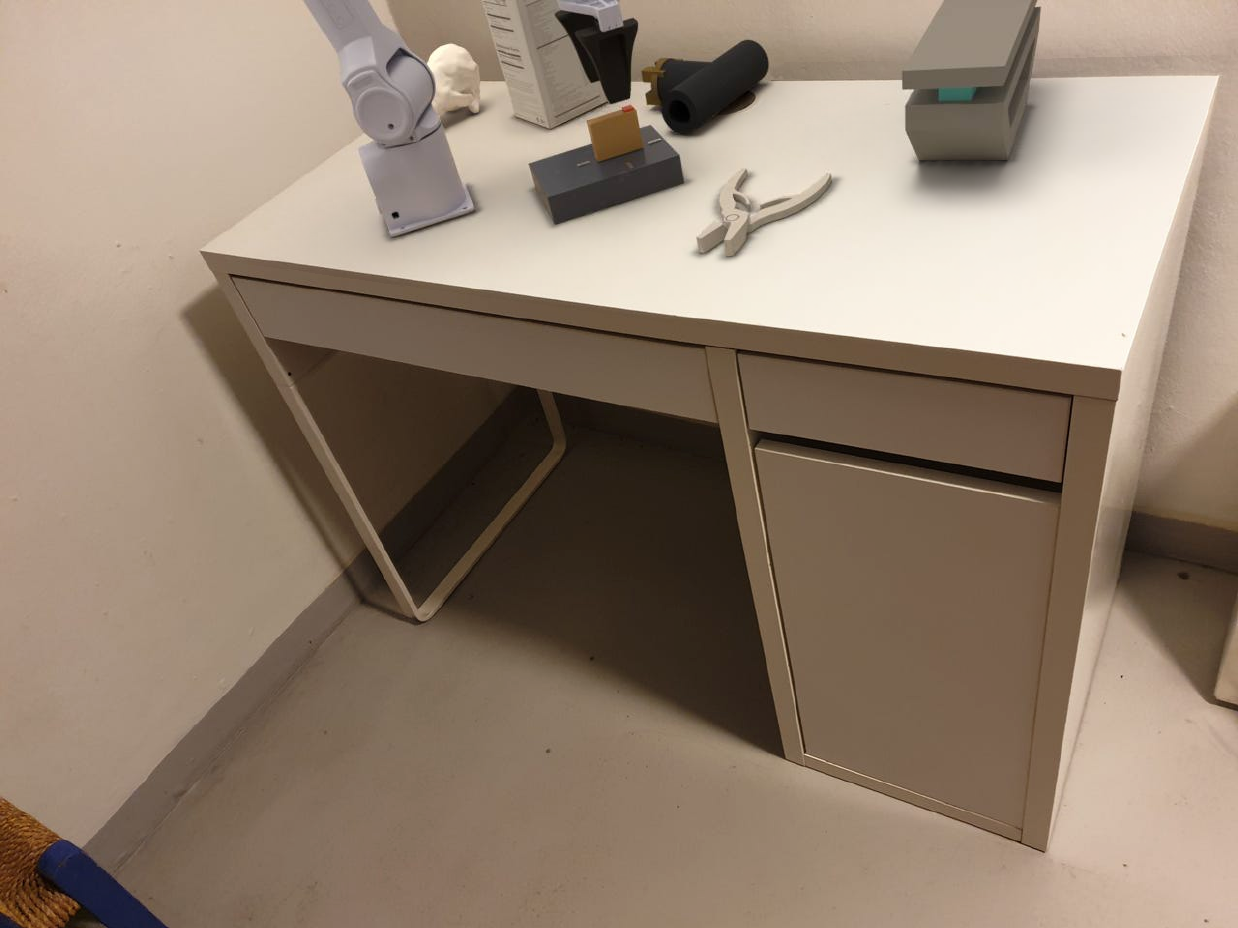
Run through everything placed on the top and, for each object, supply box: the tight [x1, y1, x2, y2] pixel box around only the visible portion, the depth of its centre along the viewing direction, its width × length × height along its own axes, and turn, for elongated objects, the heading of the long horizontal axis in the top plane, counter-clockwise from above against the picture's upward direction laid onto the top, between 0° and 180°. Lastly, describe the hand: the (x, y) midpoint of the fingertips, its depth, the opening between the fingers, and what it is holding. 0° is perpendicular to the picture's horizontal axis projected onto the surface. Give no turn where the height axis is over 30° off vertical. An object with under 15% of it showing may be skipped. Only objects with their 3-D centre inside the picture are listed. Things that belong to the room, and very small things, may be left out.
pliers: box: [696, 167, 832, 257], centre depth 84 cm, size 10×2×15 cm
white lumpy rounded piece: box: [426, 43, 481, 116], centre depth 120 cm, size 6×8×12 cm
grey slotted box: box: [901, 0, 1042, 161], centre depth 84 cm, size 25×8×11 cm, turn 154°
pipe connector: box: [641, 39, 770, 136], centre depth 106 cm, size 12×5×15 cm
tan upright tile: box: [586, 104, 643, 162], centre depth 92 cm, size 5×1×4 cm, turn 106°
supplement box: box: [481, 0, 609, 130], centre depth 111 cm, size 10×9×17 cm
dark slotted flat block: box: [528, 124, 685, 225], centre depth 95 cm, size 14×10×3 cm
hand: (609, 90), depth 90 cm, fingers open, 7 cm apart
